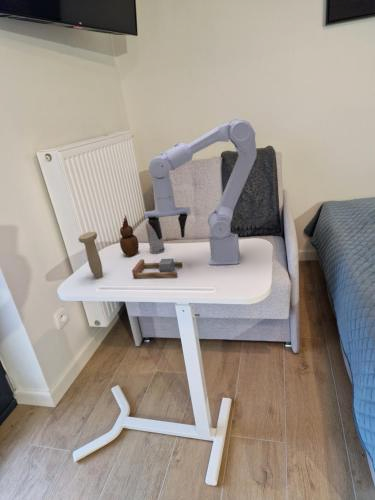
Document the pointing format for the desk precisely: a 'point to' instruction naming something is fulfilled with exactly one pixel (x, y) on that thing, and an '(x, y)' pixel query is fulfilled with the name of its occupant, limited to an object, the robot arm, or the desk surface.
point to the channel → (141, 266)
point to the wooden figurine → (128, 239)
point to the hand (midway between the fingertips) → (171, 237)
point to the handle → (92, 253)
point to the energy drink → (154, 239)
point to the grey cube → (166, 265)
